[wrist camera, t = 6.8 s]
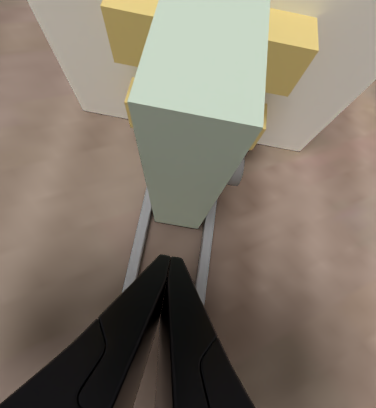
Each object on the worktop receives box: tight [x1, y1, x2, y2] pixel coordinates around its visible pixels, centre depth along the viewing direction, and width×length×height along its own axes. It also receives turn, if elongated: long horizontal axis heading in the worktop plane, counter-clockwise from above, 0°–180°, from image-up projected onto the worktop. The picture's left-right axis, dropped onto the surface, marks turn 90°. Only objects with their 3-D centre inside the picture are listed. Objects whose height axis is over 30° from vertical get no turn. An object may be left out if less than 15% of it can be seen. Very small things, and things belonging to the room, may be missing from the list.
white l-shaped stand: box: [27, 0, 376, 305], centre depth 12 cm, size 27×18×11 cm, turn 171°
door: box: [127, 0, 270, 229], centre depth 11 cm, size 8×4×11 cm, turn 171°
